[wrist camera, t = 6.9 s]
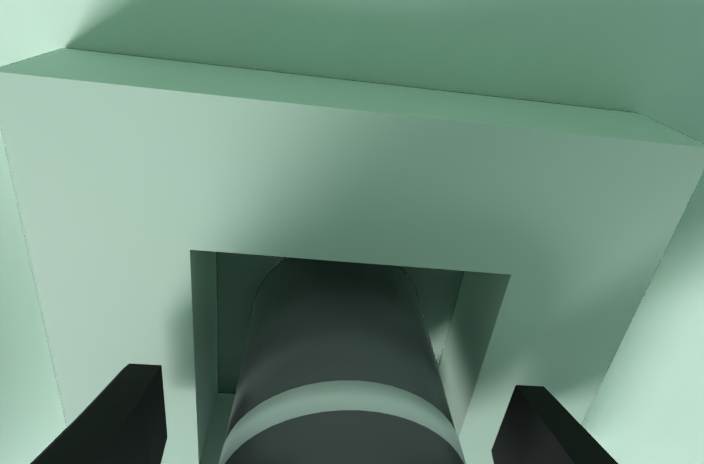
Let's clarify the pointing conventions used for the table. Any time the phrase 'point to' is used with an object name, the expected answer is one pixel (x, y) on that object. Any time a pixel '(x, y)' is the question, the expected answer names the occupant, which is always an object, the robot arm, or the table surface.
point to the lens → (339, 372)
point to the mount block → (330, 221)
